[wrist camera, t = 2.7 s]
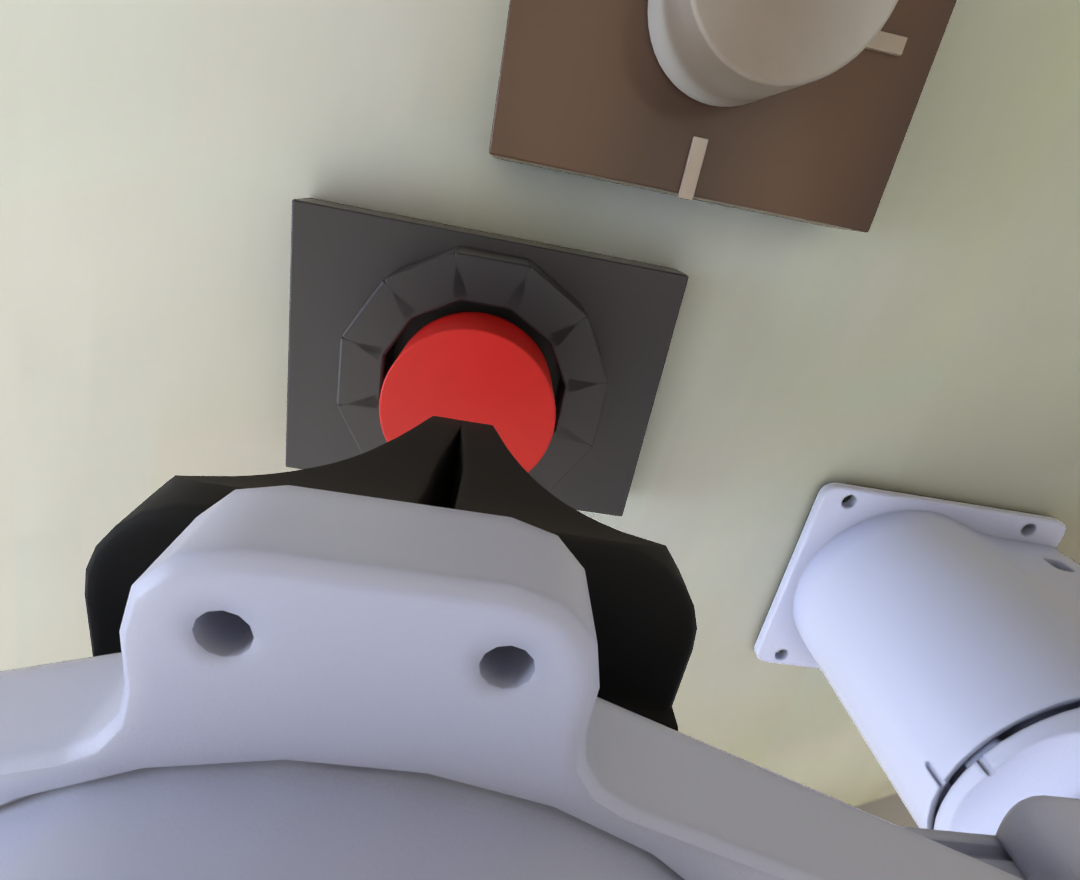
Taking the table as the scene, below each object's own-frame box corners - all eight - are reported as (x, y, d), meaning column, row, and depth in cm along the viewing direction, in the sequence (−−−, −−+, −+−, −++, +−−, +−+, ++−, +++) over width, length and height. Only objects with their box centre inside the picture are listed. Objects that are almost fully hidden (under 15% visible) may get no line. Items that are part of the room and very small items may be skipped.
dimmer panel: (944, -116, 15) (1028, -174, 12) (822, 230, 18) (870, 237, 16) (546, -226, 14) (553, -314, 11) (492, 161, 17) (487, 158, 14)
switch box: (677, 269, 18) (705, 284, 16) (616, 497, 21) (630, 543, 19) (308, 197, 17) (268, 200, 14) (299, 449, 20) (265, 491, 17)
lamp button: (565, 327, 16) (572, 346, 14) (536, 471, 18) (538, 505, 16) (402, 297, 16) (386, 313, 14) (387, 447, 17) (371, 480, 16)
